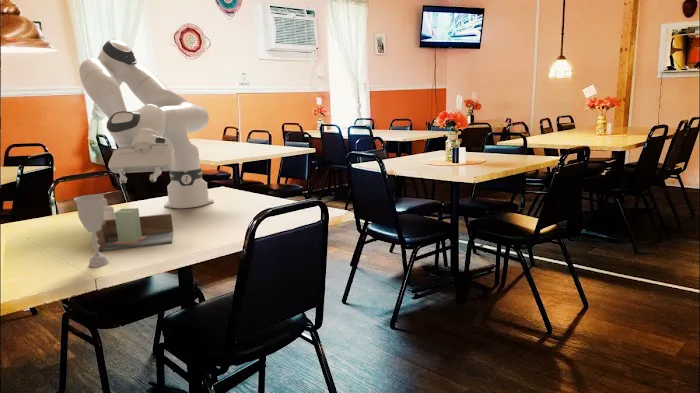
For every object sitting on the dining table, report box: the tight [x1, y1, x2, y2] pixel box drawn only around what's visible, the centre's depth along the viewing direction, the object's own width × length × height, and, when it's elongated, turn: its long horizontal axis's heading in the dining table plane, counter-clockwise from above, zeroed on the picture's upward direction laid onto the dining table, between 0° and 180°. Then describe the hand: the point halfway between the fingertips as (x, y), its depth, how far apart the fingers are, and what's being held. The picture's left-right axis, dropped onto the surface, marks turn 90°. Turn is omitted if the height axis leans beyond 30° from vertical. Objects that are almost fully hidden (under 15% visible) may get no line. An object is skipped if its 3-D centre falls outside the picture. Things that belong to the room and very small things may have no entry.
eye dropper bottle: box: [102, 196, 115, 220], centre depth 170 cm, size 4×6×12 cm
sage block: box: [114, 207, 142, 242], centre depth 156 cm, size 5×5×9 cm
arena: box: [96, 213, 174, 253], centre depth 157 cm, size 14×20×6 cm
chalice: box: [73, 193, 110, 268], centre depth 135 cm, size 7×7×18 cm
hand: (137, 181), depth 162 cm, fingers open, 8 cm apart
